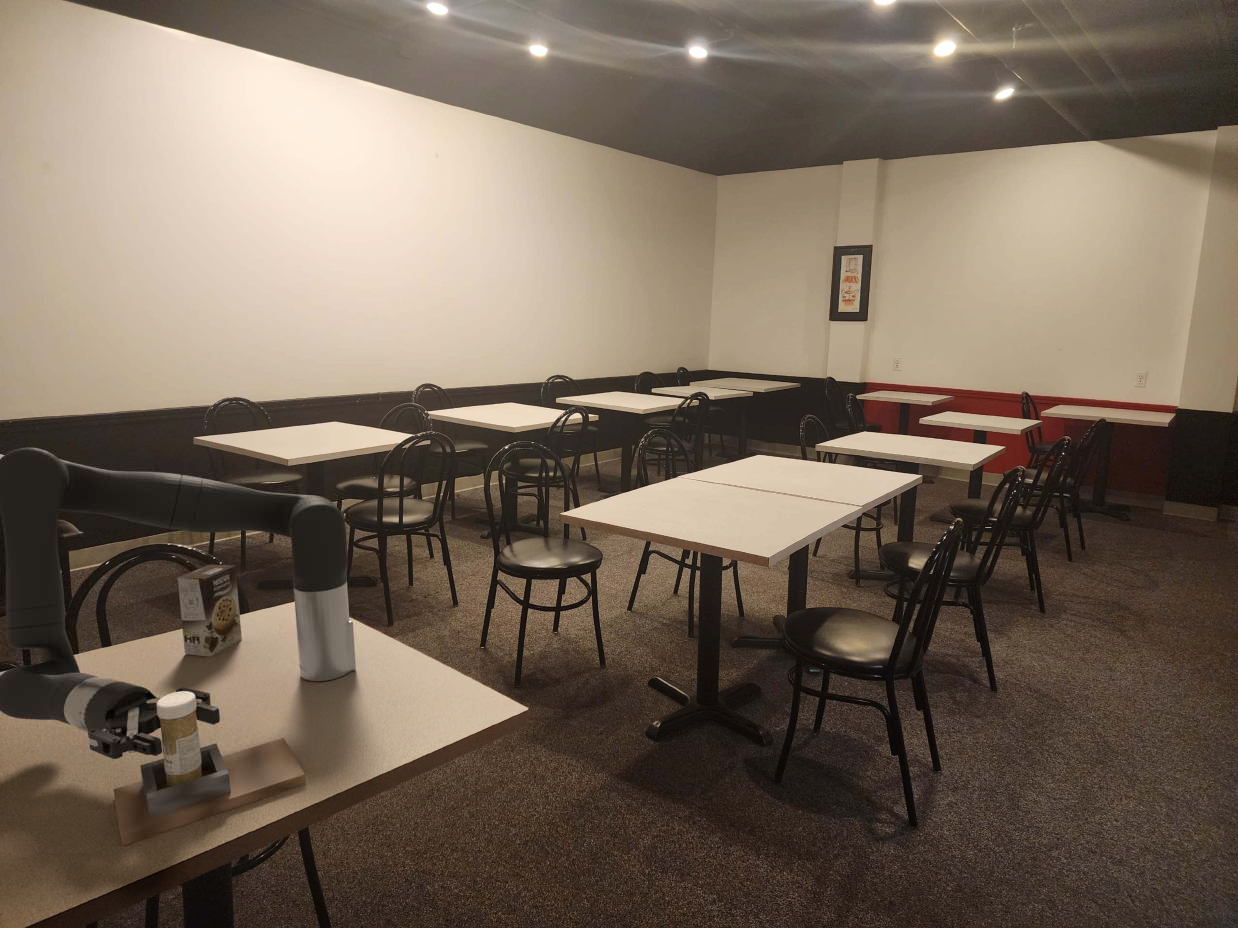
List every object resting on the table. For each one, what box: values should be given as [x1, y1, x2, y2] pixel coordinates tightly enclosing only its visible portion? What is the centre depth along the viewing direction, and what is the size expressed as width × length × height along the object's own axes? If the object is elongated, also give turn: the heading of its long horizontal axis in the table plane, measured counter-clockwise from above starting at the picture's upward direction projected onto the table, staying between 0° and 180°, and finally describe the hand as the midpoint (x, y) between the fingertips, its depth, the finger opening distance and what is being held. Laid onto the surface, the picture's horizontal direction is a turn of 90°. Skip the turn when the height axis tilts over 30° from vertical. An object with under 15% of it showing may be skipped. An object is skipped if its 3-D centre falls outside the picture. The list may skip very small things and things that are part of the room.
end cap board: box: [113, 737, 307, 847], centre depth 105 cm, size 22×12×4 cm, turn 127°
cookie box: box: [177, 564, 243, 658], centre depth 152 cm, size 9×6×16 cm
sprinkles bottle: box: [157, 691, 202, 788], centre depth 102 cm, size 5×5×13 cm
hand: (189, 731), depth 101 cm, fingers open, 8 cm apart
